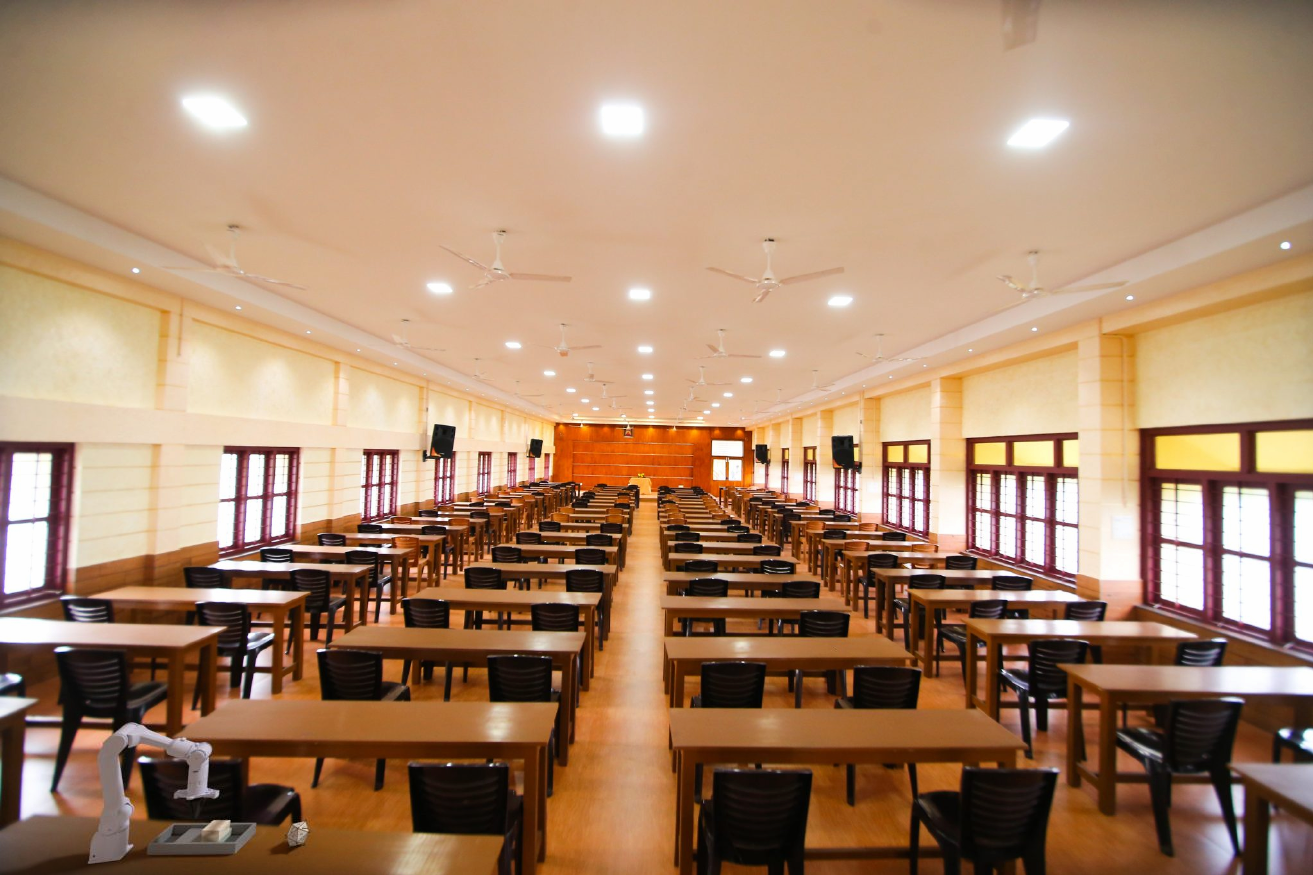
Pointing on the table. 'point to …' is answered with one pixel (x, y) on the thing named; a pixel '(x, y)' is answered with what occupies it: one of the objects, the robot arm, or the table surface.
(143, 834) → the table surface
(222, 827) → the cream block
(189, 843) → the gray tray
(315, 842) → the table surface
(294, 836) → the game die
